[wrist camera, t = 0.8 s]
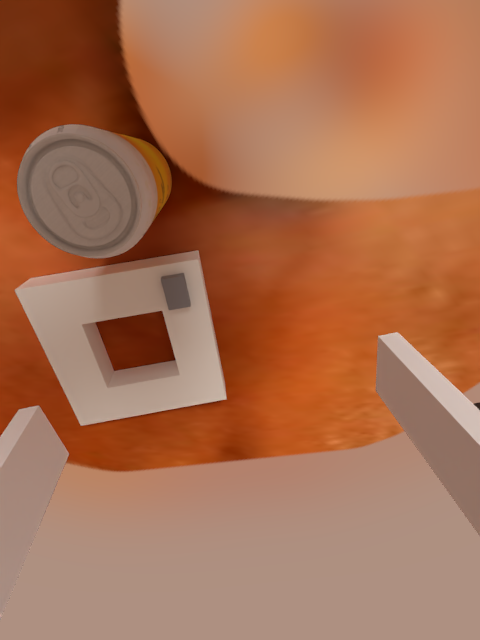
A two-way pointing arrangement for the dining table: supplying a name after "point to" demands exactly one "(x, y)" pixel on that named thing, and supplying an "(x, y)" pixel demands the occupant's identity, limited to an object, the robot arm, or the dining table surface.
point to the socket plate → (116, 302)
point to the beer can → (92, 189)
